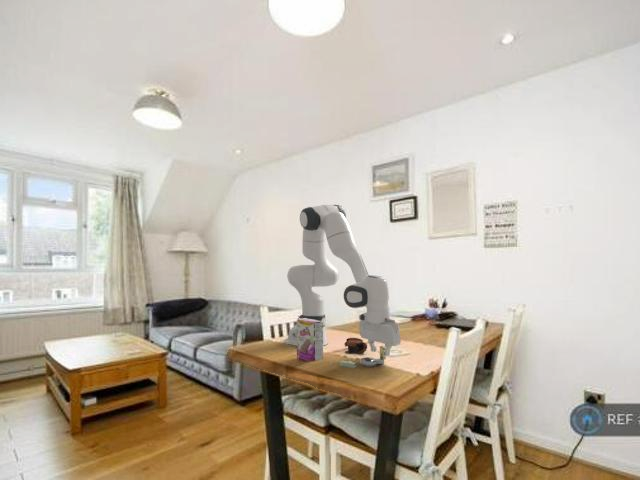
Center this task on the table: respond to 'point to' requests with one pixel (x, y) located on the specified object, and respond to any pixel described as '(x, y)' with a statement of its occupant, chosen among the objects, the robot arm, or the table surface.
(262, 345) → the table surface
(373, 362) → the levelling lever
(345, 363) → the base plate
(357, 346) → the pottery mug
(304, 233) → the robot arm
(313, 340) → the candy bar box
